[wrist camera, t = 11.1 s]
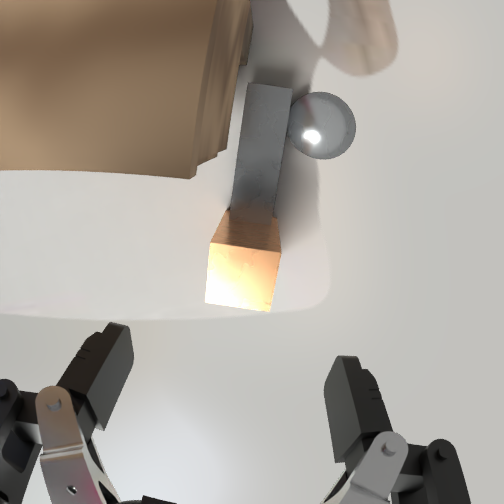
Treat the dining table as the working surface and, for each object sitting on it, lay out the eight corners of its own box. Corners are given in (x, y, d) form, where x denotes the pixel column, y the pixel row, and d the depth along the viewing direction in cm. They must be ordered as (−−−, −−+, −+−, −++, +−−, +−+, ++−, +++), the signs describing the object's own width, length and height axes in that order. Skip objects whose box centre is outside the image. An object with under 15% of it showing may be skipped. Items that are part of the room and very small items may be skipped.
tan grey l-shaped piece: (242, 86, 19) (232, 65, 12) (296, 94, 19) (311, 76, 12) (220, 256, 24) (205, 302, 18) (268, 263, 24) (269, 311, 18)
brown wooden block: (92, 31, 16) (-25, -8, 3) (257, 23, 16) (246, -99, 3) (75, 143, 20) (-58, 176, 7) (237, 152, 21) (188, 184, 8)
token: (278, 100, 19) (279, 97, 18) (342, 90, 19) (347, 88, 17) (293, 163, 21) (295, 165, 20) (355, 152, 20) (361, 153, 19)
